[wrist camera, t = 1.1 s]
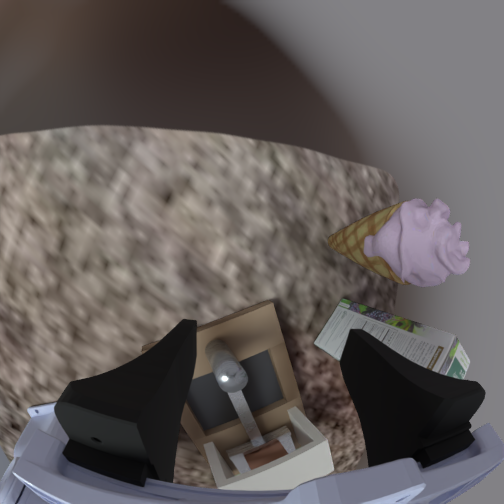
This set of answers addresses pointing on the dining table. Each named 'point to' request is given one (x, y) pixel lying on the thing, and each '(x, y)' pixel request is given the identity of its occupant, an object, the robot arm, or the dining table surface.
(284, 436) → the sled
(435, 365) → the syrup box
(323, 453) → the tunnel
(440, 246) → the ice cream cone
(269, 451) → the terracotta block
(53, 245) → the dining table surface
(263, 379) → the frame
